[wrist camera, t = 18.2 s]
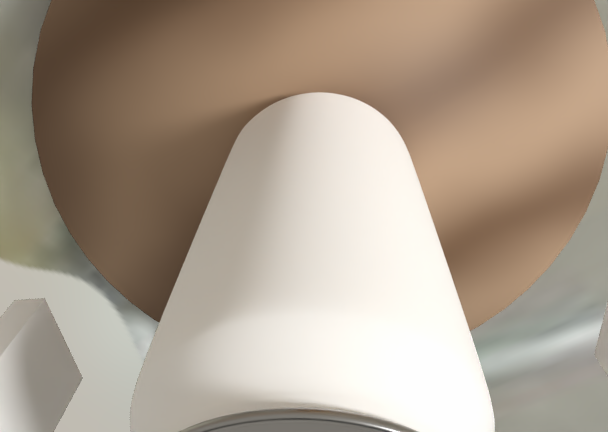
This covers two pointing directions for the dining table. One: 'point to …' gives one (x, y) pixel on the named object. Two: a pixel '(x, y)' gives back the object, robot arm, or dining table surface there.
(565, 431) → the dining table surface
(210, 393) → the can
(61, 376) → the robot arm
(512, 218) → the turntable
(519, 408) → the dining table surface
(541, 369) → the dining table surface
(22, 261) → the dining table surface
